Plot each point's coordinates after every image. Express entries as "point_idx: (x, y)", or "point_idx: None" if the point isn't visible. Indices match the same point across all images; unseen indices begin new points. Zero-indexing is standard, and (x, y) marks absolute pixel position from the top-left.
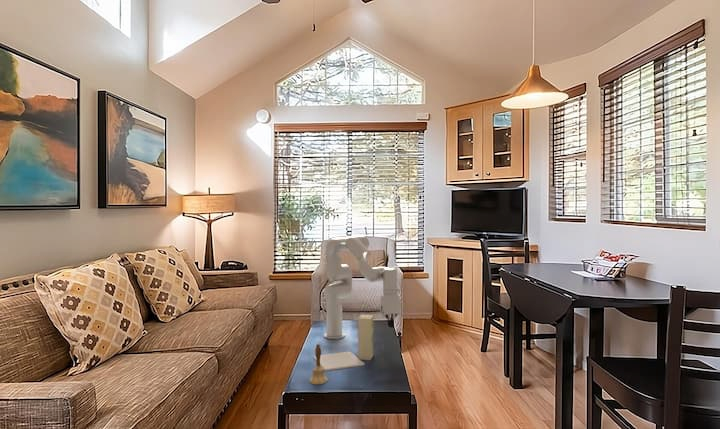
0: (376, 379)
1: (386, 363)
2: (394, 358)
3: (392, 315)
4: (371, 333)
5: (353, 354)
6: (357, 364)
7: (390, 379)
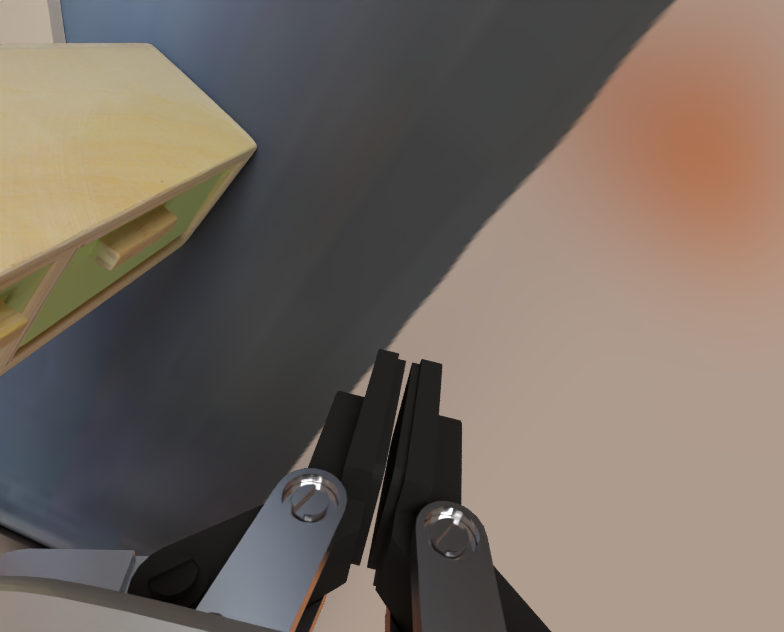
0: (108, 486)
1: (269, 364)
2: (386, 324)
3: (456, 625)
4: (19, 340)
5: (51, 39)
6: None
7: (176, 521)
